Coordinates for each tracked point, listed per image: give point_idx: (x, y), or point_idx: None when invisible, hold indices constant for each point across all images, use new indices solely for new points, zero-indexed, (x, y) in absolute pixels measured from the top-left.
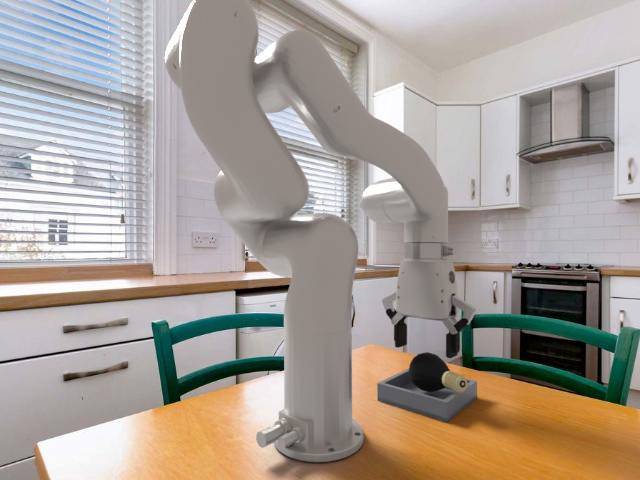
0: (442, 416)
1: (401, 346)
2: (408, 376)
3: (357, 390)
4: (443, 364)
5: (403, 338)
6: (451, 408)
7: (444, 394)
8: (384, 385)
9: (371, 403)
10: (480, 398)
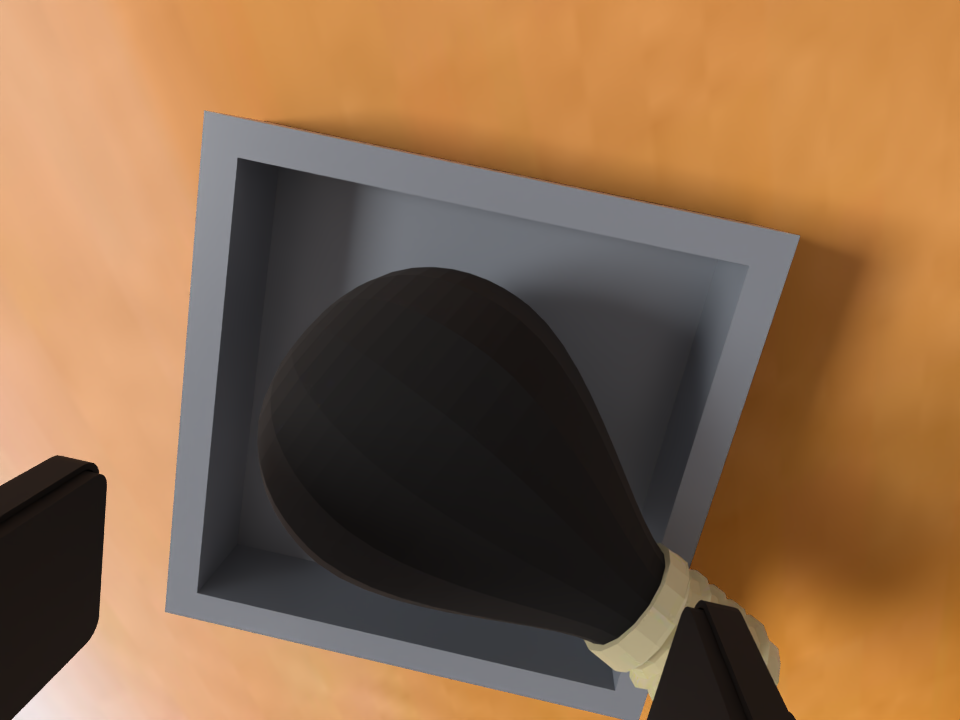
0: None
1: (100, 576)
2: (247, 260)
3: None
4: (575, 561)
5: (43, 590)
6: None
7: None
8: (219, 622)
9: None
10: (777, 217)
